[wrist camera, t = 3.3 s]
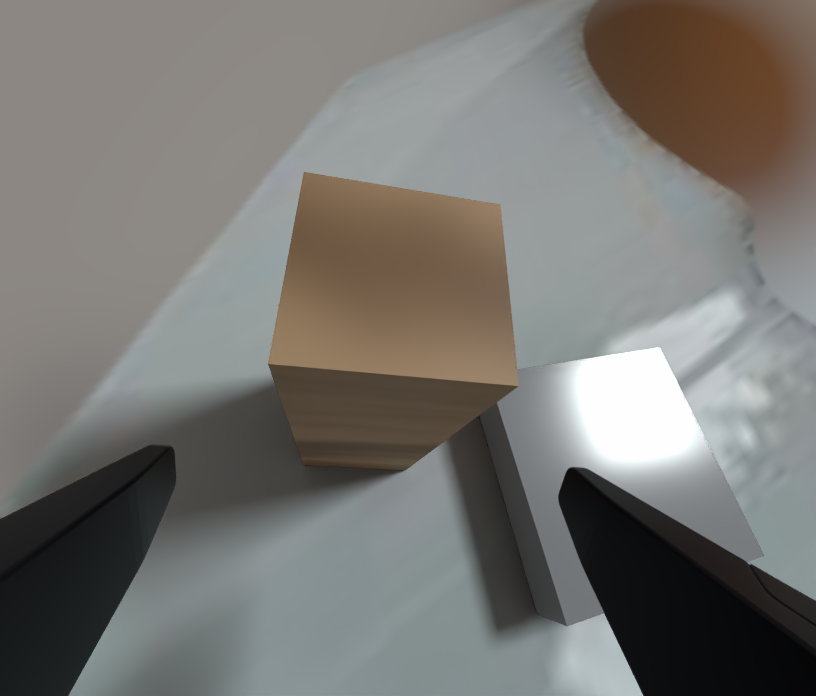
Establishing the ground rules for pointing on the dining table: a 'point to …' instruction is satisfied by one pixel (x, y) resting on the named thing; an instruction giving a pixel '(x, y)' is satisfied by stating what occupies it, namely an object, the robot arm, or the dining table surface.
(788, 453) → the dining table surface
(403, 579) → the dining table surface
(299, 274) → the walnut pillar
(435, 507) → the dining table surface
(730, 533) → the base plate
